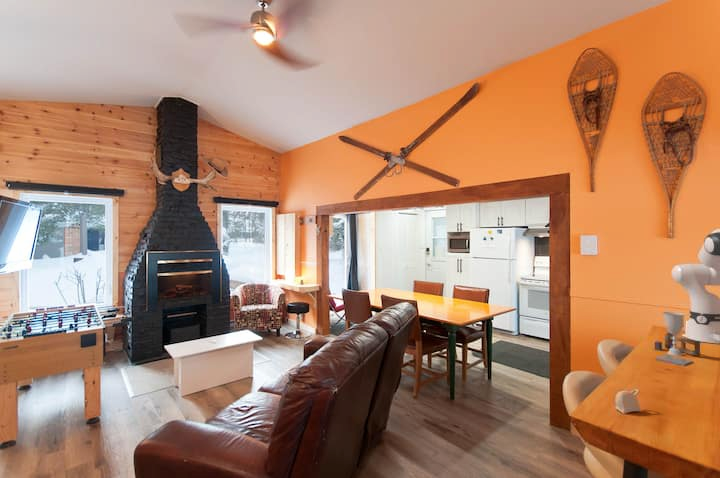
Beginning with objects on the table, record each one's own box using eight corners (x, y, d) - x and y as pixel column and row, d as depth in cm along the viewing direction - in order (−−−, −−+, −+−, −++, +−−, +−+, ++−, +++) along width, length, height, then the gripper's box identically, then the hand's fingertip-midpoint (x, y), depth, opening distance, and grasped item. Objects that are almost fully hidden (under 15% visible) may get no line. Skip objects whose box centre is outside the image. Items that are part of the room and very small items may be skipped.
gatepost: (668, 347, 162) (668, 332, 162) (673, 348, 160) (673, 333, 160) (667, 347, 161) (666, 332, 161) (672, 348, 159) (671, 333, 159)
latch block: (657, 348, 159) (657, 341, 159) (661, 349, 158) (661, 341, 158) (654, 349, 158) (654, 341, 158) (659, 350, 156) (659, 342, 156)
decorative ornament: (609, 407, 100) (609, 389, 100) (633, 405, 102) (633, 387, 102) (622, 414, 96) (622, 395, 96) (647, 411, 98) (646, 392, 98)
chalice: (660, 352, 153) (659, 312, 153) (668, 351, 155) (667, 311, 156) (681, 357, 146) (680, 315, 147) (689, 355, 149) (688, 314, 149)
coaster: (664, 356, 148) (664, 354, 148) (692, 362, 140) (692, 360, 140) (655, 359, 143) (655, 358, 143) (684, 365, 136) (684, 364, 136)
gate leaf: (663, 347, 160) (663, 334, 160) (667, 346, 160) (667, 334, 160) (696, 356, 146) (696, 342, 147) (701, 355, 147) (700, 341, 147)
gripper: (770, 330, 134) (720, 323, 146) (755, 336, 124) (703, 329, 136) (771, 346, 133) (721, 338, 145) (756, 354, 123) (703, 345, 135)
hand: (712, 334), depth 140 cm, fingers open, 8 cm apart
